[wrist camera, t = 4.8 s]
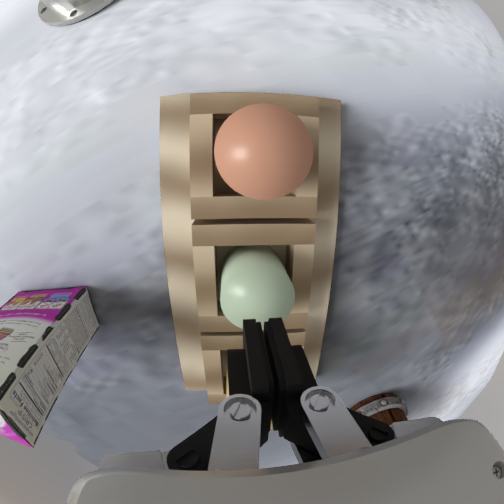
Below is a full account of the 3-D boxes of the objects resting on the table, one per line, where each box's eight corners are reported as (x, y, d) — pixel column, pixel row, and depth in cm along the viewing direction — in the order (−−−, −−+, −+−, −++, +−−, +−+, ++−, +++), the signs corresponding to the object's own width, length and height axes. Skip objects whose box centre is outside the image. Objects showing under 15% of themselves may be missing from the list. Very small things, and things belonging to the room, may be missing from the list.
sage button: (221, 242, 21) (218, 265, 17) (282, 241, 22) (297, 263, 17) (222, 297, 23) (221, 332, 18) (280, 296, 23) (292, 329, 18)
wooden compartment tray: (164, 99, 19) (151, 88, 15) (335, 103, 20) (353, 93, 16) (187, 382, 28) (183, 407, 24) (311, 376, 29) (320, 400, 25)
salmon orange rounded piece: (218, 119, 16) (214, 103, 12) (291, 120, 17) (313, 106, 12) (218, 190, 18) (214, 200, 13) (290, 190, 18) (311, 200, 13)
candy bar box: (33, 327, 24) (-37, 415, 9) (18, 290, 23) (-67, 371, 7) (103, 327, 25) (34, 453, 9) (88, 284, 23) (-10, 400, 8)
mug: (375, 379, 30) (433, 466, 16) (411, 392, 36) (455, 453, 22) (312, 430, 32) (350, 515, 19) (360, 433, 38) (395, 495, 25)
